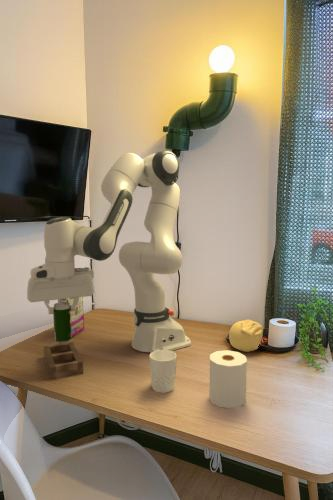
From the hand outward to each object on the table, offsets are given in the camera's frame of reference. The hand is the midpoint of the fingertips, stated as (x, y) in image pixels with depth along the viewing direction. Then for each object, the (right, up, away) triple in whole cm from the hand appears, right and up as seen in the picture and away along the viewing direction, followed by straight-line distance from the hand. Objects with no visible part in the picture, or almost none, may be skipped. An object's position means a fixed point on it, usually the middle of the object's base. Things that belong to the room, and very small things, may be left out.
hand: (62, 312), depth 122 cm
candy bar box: (-5, -15, +35) cm, 39 cm away
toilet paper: (+50, -22, -14) cm, 57 cm away
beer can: (0, -10, +1) cm, 10 cm away
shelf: (-2, -19, +7) cm, 20 cm away
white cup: (+32, -21, -8) cm, 39 cm away
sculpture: (+62, -17, +20) cm, 68 cm away
